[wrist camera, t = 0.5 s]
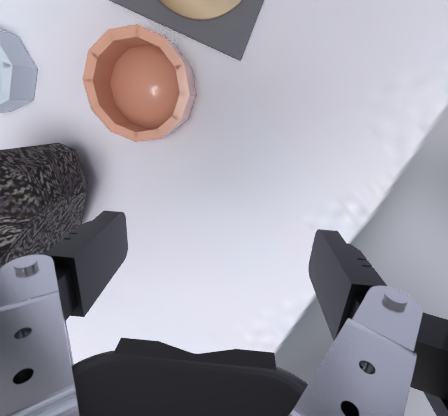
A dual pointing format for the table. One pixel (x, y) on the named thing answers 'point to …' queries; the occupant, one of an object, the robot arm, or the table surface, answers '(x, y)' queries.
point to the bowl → (138, 83)
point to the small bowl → (15, 73)
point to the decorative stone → (39, 198)
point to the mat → (205, 24)
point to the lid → (201, 8)
